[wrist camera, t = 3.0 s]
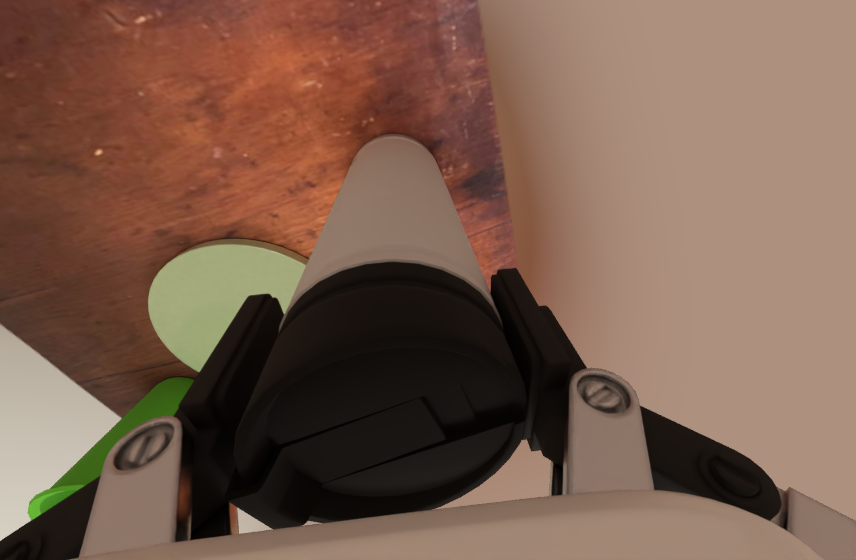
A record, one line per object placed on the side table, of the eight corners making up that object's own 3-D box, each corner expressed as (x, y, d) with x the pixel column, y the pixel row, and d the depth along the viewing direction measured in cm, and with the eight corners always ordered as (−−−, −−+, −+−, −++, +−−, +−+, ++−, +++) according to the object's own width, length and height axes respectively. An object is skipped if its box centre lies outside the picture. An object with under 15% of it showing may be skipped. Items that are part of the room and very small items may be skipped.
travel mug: (328, 156, 22) (116, 447, 5) (420, 117, 21) (512, 315, 4) (369, 235, 25) (319, 567, 9) (451, 204, 25) (569, 504, 8)
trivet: (111, 249, 24) (101, 255, 23) (331, 228, 25) (329, 233, 24) (206, 391, 33) (201, 399, 32) (367, 373, 34) (366, 381, 33)
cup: (238, 371, 32) (174, 495, 23) (232, 426, 36) (177, 549, 27) (129, 353, 30) (10, 482, 20) (137, 414, 34) (41, 543, 25)
